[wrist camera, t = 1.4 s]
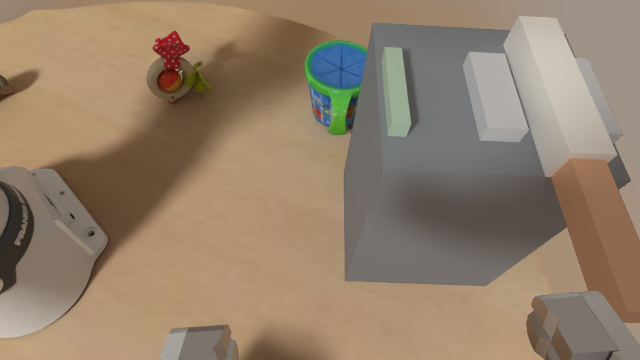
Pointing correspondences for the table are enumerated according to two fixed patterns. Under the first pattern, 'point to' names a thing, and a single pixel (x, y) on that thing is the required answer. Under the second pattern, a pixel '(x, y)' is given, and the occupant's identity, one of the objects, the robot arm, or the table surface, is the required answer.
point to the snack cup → (335, 82)
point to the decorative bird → (5, 86)
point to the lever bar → (576, 160)
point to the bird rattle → (169, 80)
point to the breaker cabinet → (447, 160)
